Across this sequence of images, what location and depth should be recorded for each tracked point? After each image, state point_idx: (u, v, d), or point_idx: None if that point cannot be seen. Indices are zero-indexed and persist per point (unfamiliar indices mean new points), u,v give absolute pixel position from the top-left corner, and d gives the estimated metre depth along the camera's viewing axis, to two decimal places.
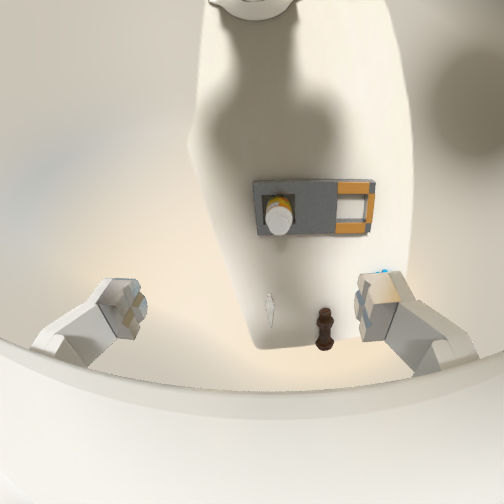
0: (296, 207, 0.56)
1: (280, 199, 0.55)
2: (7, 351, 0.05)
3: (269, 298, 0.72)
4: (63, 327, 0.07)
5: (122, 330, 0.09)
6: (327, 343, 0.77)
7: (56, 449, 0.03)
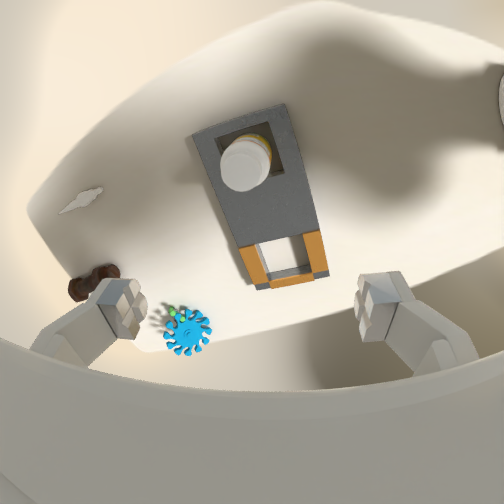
0: None
1: (271, 154, 0.31)
2: (7, 351, 0.05)
3: (95, 193, 0.38)
4: (63, 327, 0.07)
5: (122, 330, 0.09)
6: (80, 295, 0.49)
7: (56, 449, 0.03)
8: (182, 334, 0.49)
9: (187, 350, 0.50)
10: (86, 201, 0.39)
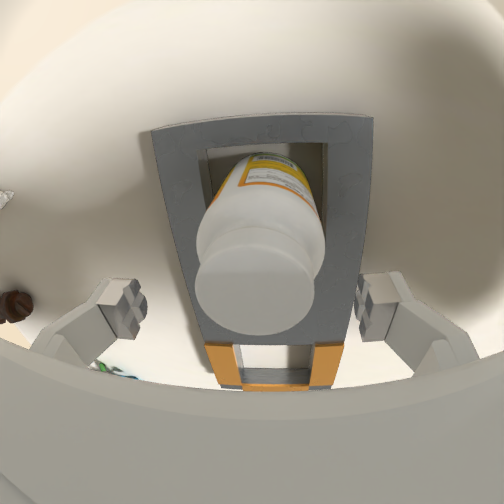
0: None
1: None
2: (8, 351, 0.05)
3: (1, 200, 0.17)
4: (63, 327, 0.07)
5: (122, 330, 0.09)
6: None
7: (56, 449, 0.03)
8: None
9: None
10: None
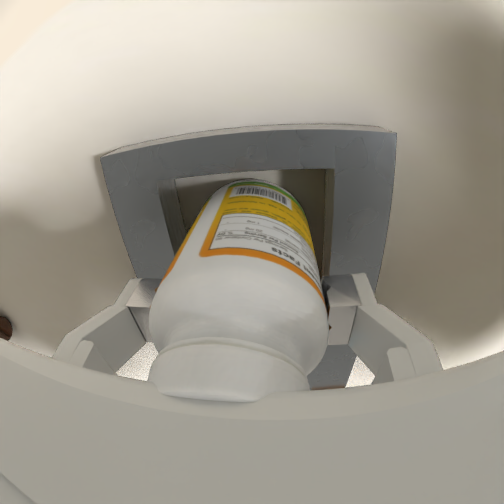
0: None
1: None
2: (7, 351, 0.05)
3: None
4: (90, 332, 0.07)
5: None
6: None
7: (56, 448, 0.03)
8: None
9: None
10: None
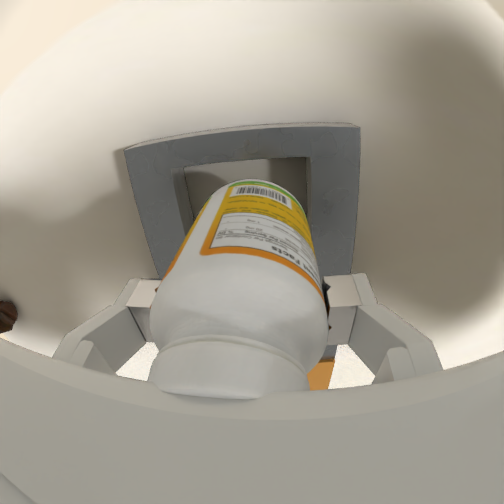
0: None
1: None
2: (7, 351, 0.05)
3: None
4: (91, 332, 0.07)
5: None
6: None
7: (56, 448, 0.03)
8: None
9: None
10: None
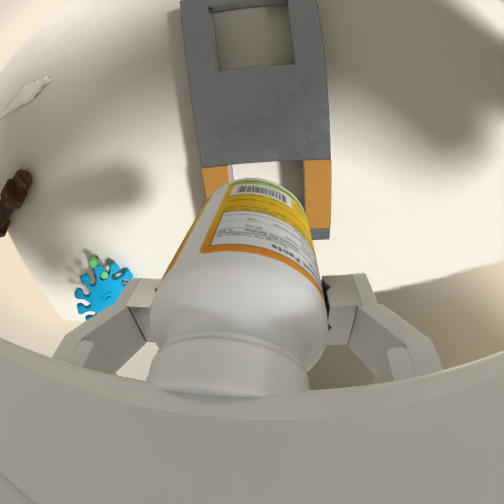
0: (260, 68, 0.19)
1: None
2: (7, 351, 0.05)
3: (39, 82, 0.19)
4: (91, 332, 0.07)
5: None
6: None
7: (56, 449, 0.03)
8: (100, 297, 0.32)
9: None
10: (27, 95, 0.20)
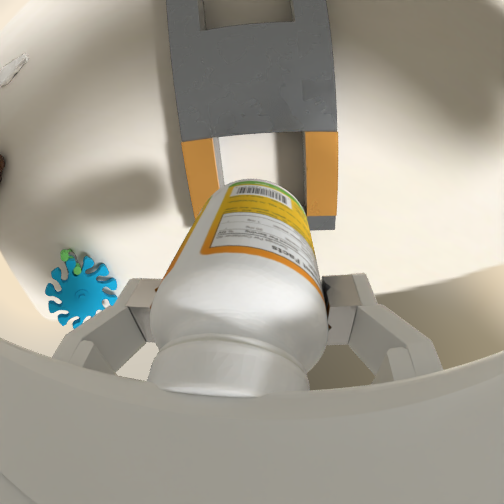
0: (253, 26, 0.14)
1: None
2: (8, 351, 0.05)
3: (18, 60, 0.14)
4: (91, 332, 0.07)
5: None
6: None
7: (56, 449, 0.03)
8: (72, 294, 0.27)
9: (77, 321, 0.28)
10: (6, 75, 0.15)
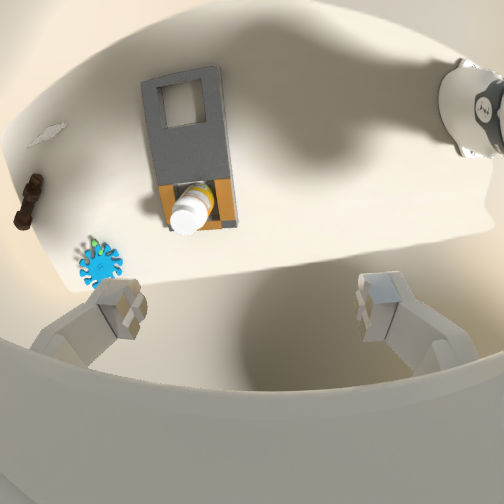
0: (186, 127, 0.36)
1: (213, 204, 0.42)
2: (7, 351, 0.05)
3: (58, 127, 0.36)
4: (63, 327, 0.07)
5: (122, 330, 0.09)
6: (21, 220, 0.45)
7: (56, 448, 0.03)
8: (96, 266, 0.49)
9: (95, 283, 0.50)
10: (50, 134, 0.37)
